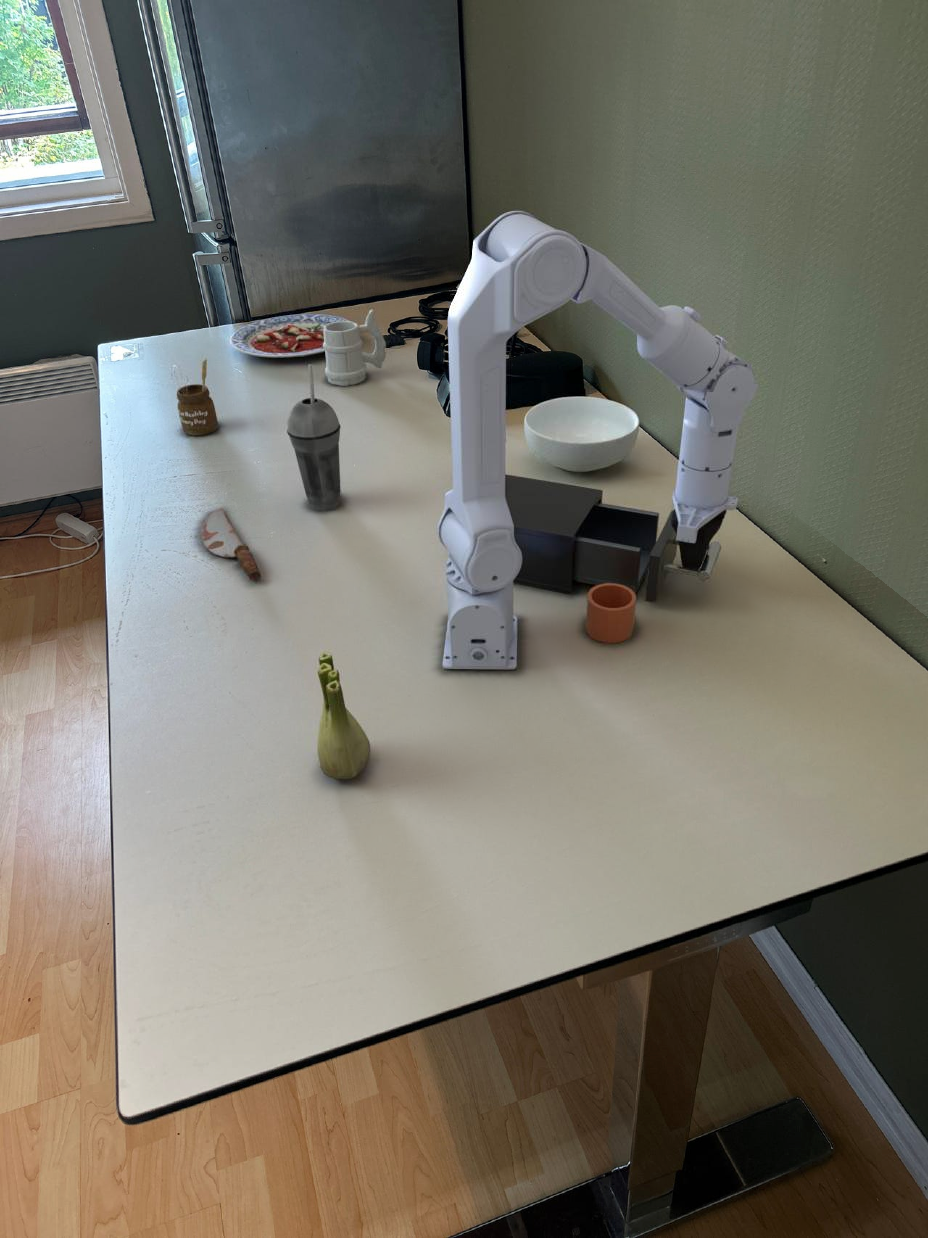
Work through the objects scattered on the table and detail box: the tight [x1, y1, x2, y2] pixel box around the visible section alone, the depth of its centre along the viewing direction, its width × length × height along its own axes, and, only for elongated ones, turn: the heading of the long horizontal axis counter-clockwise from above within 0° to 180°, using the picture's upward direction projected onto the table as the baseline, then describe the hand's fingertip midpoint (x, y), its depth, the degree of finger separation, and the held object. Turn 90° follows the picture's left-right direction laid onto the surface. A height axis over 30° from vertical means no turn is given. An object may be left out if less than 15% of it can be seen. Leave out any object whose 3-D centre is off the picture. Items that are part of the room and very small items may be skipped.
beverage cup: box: [286, 364, 342, 512], centre depth 122 cm, size 7×7×20 cm
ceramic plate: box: [229, 313, 349, 359], centre depth 183 cm, size 26×26×3 cm
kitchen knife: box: [200, 507, 261, 581], centre depth 118 cm, size 21×2×5 cm
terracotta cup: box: [585, 583, 637, 644], centre depth 100 cm, size 5×5×4 cm
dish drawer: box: [573, 502, 723, 603], centre depth 107 cm, size 18×11×6 cm, turn 66°
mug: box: [323, 309, 387, 387], centre depth 164 cm, size 8×12×12 cm, turn 108°
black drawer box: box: [505, 473, 603, 595], centre depth 111 cm, size 14×12×8 cm
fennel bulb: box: [316, 651, 371, 780], centre depth 82 cm, size 6×5×12 cm
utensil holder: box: [170, 358, 219, 437], centre depth 147 cm, size 6×6×12 cm
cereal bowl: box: [523, 396, 640, 473], centre depth 134 cm, size 17×17×7 cm
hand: (691, 565), depth 105 cm, fingers closed, pressing on dish drawer
